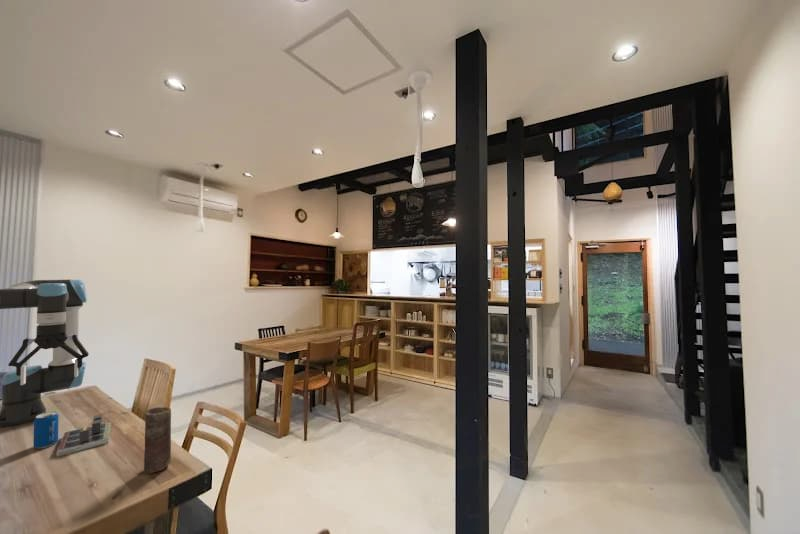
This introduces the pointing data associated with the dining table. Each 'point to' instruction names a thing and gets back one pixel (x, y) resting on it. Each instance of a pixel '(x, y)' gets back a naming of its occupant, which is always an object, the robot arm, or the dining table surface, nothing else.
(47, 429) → the beverage can
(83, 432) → the breaker
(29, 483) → the dining table surface
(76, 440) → the panel
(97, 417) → the breaker
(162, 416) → the candle
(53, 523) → the dining table surface
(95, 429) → the block
